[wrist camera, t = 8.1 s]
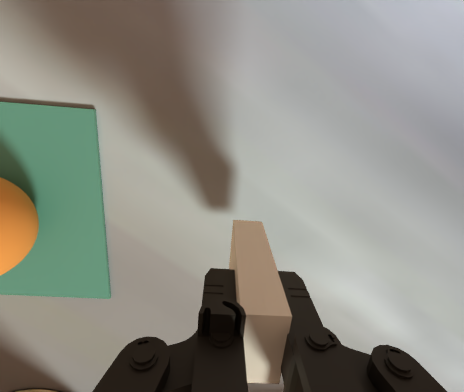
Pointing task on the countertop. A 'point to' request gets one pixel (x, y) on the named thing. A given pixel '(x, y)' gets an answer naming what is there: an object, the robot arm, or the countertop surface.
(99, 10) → the countertop surface
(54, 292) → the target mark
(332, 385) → the robot arm
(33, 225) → the ball
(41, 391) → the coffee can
